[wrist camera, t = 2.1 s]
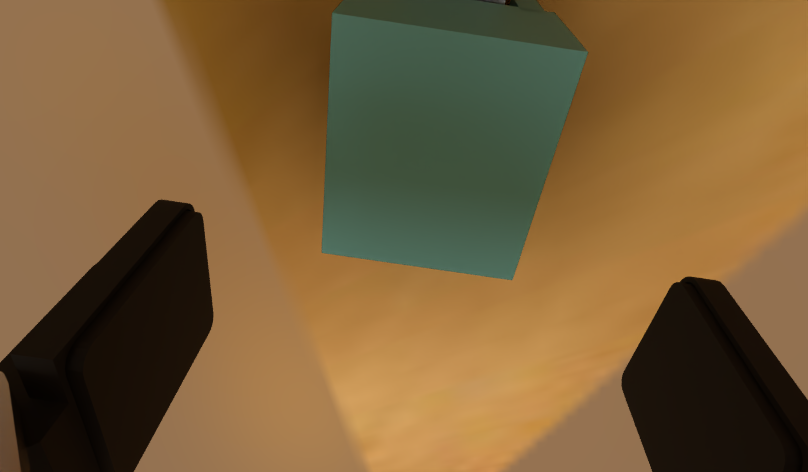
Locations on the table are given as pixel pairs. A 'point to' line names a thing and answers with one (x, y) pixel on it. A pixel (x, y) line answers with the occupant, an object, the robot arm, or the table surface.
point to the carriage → (443, 129)
